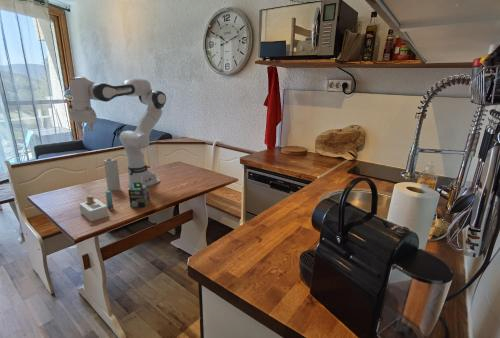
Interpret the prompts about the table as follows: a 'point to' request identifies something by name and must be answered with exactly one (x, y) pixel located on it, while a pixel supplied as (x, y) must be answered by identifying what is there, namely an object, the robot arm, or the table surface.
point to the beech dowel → (90, 200)
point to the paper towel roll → (112, 174)
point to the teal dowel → (109, 199)
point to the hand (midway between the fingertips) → (85, 130)
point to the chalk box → (139, 195)
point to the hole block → (94, 210)
